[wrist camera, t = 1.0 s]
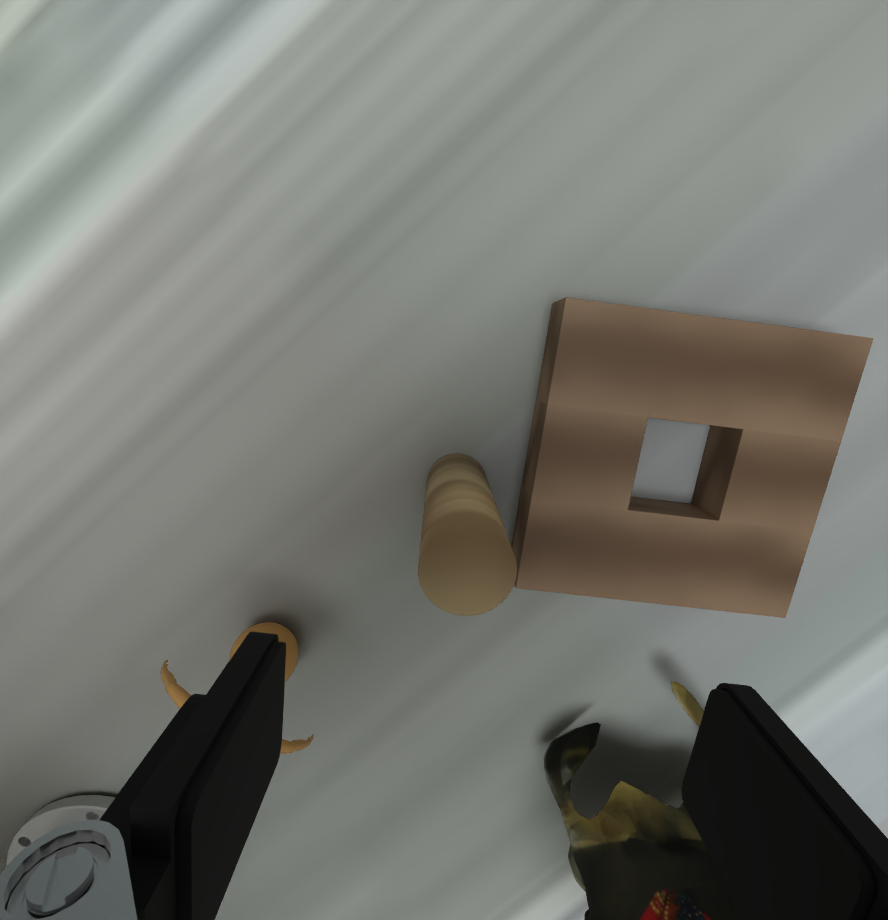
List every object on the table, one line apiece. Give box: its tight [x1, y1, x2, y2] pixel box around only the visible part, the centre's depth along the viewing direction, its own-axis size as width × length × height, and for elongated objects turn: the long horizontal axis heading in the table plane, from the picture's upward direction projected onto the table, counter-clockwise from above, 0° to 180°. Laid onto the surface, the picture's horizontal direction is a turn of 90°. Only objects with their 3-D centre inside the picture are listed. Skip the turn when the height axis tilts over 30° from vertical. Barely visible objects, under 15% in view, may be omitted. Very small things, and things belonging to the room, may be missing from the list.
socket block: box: [512, 298, 873, 618], centre depth 27 cm, size 16×16×3 cm
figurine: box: [161, 622, 313, 754], centre depth 25 cm, size 8×6×12 cm
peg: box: [418, 454, 517, 616], centre depth 23 cm, size 4×4×12 cm
